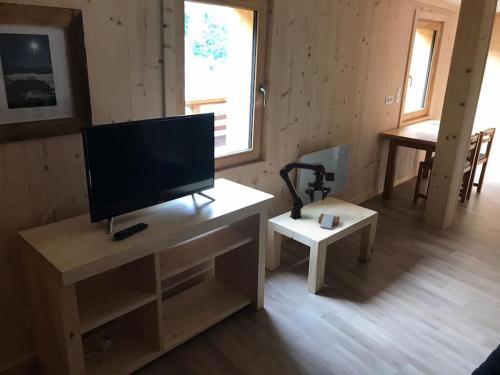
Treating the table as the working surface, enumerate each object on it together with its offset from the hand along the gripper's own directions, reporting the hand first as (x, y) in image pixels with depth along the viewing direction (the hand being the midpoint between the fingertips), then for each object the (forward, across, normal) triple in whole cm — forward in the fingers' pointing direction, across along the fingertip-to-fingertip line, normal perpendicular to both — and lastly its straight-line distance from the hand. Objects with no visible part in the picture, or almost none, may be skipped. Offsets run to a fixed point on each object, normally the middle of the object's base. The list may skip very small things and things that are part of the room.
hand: (317, 201), depth 290 cm
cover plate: (+12, +4, +17) cm, 21 cm away
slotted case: (+13, -4, +10) cm, 17 cm away
